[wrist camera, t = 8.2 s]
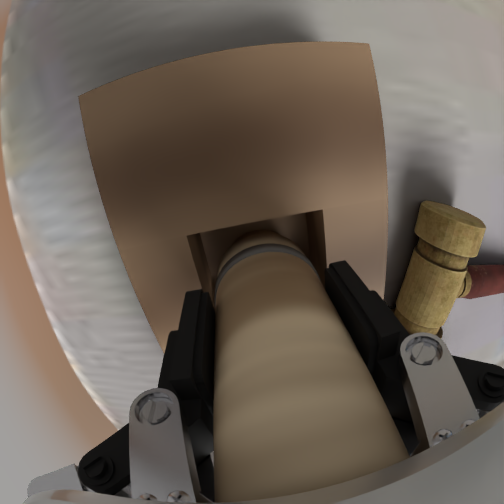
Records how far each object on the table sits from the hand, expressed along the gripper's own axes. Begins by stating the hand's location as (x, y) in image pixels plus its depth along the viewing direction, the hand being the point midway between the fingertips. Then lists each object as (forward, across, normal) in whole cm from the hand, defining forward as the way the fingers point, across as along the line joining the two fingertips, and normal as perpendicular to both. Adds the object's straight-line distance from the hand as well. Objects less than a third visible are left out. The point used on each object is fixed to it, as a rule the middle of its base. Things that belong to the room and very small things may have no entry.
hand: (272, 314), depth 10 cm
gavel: (+7, -18, +6) cm, 21 cm away
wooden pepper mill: (+4, 0, 0) cm, 4 cm away
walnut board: (+6, 0, 0) cm, 6 cm away
